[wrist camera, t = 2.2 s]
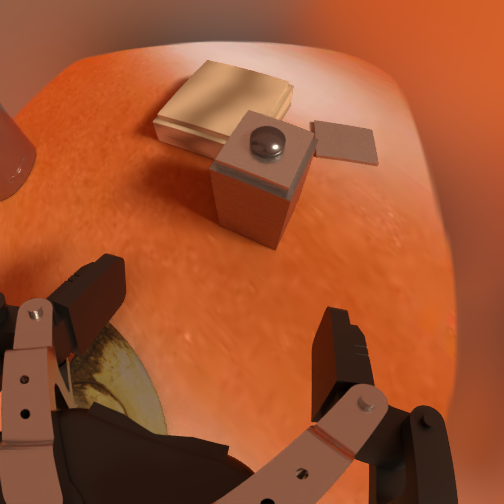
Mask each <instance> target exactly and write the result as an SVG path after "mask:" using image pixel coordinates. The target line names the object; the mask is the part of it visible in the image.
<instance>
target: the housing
mask: <svg viewBox="0 0 504 504" xmlns="http://www.w3.org/2000/svg"><path fill="white" fill-rule="evenodd" d="M314 134H315V133H312V132H310V131H307V130H305V129H302V128H300V127H297V126H294V125H292V124H289V123H286V122H283V121H281V120H278V119H275V118H272V117H269V116H266V115H263V114H260V113H257V112H254V111H251V110H248V112H247V113H246V114H245V115H244V117H243V118H242V120H241V121H240V123H239V124H238V125H237V127H236V128H235V130H234V131H233V133H232V134H231V136H230V137H229V139H228V140H227V142H226V143H225V145H224V146H223V148H222V149H221V151H220V152H219V154H218V155H217V157H216V159H215V160H214V162H213V163H212V165H211V166H210V168H209V172H210V178H211V183H212V189H213V194H214V199H215V205H216V210H217V215H218V220H219V226H221V227H223V228H226V229H228V230H230V231H233V232H235V233H237V234H239V235H242V236H244V237H246V238H249V239H251V240H253V241H255V242H258V243H260V244H262V245H265V246H267V247H269V248H271V249H274V250H276V249H277V247H278V244H279V242H280V240H281V238H282V236H283V233H284V231H285V229H286V227H287V225H288V222H289V220H290V218H291V216H292V213H293V211H294V209H295V207H296V204H297V202H298V200H299V197H300V194H301V191H302V188H303V185H304V182H305V179H306V176H307V173H308V170H309V167H310V164H311V161H312V158H313V155H314V152H315V149H316V146H317V143H318V140H319V139H317V138H314Z"/></svg>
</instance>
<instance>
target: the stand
mask: <svg viewBox="0 0 504 504" xmlns="http://www.w3.org/2000/svg"><path fill="white" fill-rule="evenodd" d="M293 88H294V86H292V85H289V82H288V81H285V80H282V79H279V78H275V77H272V76H269V75H265V74H262V73H258V72H255V71H251V70H247V69H243V68H239V67H235V66H231V65H227V64H223V63H218V62H213V61H209V60H207V61H206V62H205V63H204V64H203V65H202V66H201V67H200V68H199V69H198V70H197V71H196V72H195V73H194V74H193V75H192V76H191V77H190V78H189V79H188V80H187V81H186V83H185V84H184V85H183V86H182V87H181V88H180V89H179V90H178V91H177V92H176V93H175V94H174V96H173V97H172V98H171V99H170V100H169V101H168V102H167V103H166V105H165V106H164V107H163V108H162V109H161V110H160V112H159V113H158V114H157V117H156V118H155V119H154V120H153V125H154V128H155V131H156V134H157V136H158V139H159V141H161V142H164V143H167V144H170V145H174V146H176V147H179V148H182V149H185V150H188V151H191V152H194V153H197V154H200V155H203V156H205V157H208V158H211V159H214V160H215V159H216V157H217V155H218V154H219V152H220V151H221V149H222V148H223V146H224V145H225V143H226V142H227V140H228V139H229V137H230V136H231V134H232V133H233V131H234V130H235V128H236V127H237V125H238V124H239V123H240V121H241V120H242V118H243V117H244V115H245V114H246V113H247V112H248V110H251V111H254V112H257V113H260V114H263V115H266V116H269V117H272V118H275V119H278V120H281V121H282V119H283V117H284V116H285V114H286V112H287V111H288V109H289V107H290V105H291V100H292V94H293Z"/></svg>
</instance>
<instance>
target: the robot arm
mask: <svg viewBox="0 0 504 504" xmlns="http://www.w3.org/2000/svg"><path fill="white" fill-rule="evenodd" d="M35 156H36V151H35V147H34V145H33V144H32V143H31V142H30V140H29V139H28V138H27V137H26V136H25V134H24V133H23V132H22V131H21V129H20V128H19V127H18V125H17V124H16V123H15V122H14V120H13V119H12V118H11V117H10V116H9V114H8V113H7V111H6V110H5V109H4V108H3V106H2V105H1V104H0V200H4V199H6V198H8V197H10V196H11V195H12V194H14V193H15V192H16V191H17V190H18V189H19V188H20V187H21V185H22V184H23V183H24V181H25V180H26V179H27V177H28V175H29V173H30V172H31V169H32V167H33V164H34V161H35ZM125 295H126V282H125V264H124V259H123V258H121V257H118V256H114V255H110V254H104V255H102V256H101V257H100V258H99V259H98V260H97V261H96V262H92V263H89V264H87V265H85V266H83V267H81V268H80V269H79V270H78V271H76V272H75V273H74V275H72V276H71V277H70V278H69V279H68V281H65V282H64V283H63V284H62V285H61V286H60V287H59V288H58V289H56V290H55V291H54V292H53V293H52V294H51V295H50V296H49V297H48V298H47V299H43V298H34V299H30V300H28V301H26V302H25V303H23V304H22V305H21V306H20V307H17V306H10V305H7V303H6V300H5V297H4V295H3V294H2V293H0V392H1V390H2V408H1V415H2V431H1V432H0V504H315V503H316V502H317V501H318V500H319V499H320V498H321V497H322V496H323V495H324V494H325V493H326V492H327V491H328V490H329V489H330V488H331V486H332V485H333V484H334V483H335V482H336V481H337V480H338V479H339V477H340V476H341V475H342V474H343V473H344V472H345V470H346V469H347V468H348V467H349V466H350V464H351V463H352V462H353V460H354V459H356V460H359V461H362V462H365V463H368V464H369V504H458V498H457V490H456V483H455V475H454V469H453V462H452V456H451V452H450V446H449V441H448V436H447V431H446V427H445V422H444V419H443V417H442V416H441V414H440V413H439V412H438V411H437V410H435V409H434V408H432V407H430V406H425V405H422V406H418V407H416V408H414V410H413V411H412V412H411V413H408V412H405V411H403V410H400V409H397V408H394V407H392V406H390V405H388V401H387V399H386V397H385V395H384V394H383V393H382V392H381V391H380V390H379V389H378V388H376V387H375V385H374V380H373V374H372V369H371V364H370V359H369V356H368V350H367V348H366V346H367V345H366V341H365V336H364V334H363V333H362V332H361V330H360V329H359V327H358V326H356V325H351V324H350V320H349V315H348V311H347V310H343V309H338V308H333V307H327V308H326V310H325V313H324V315H323V318H322V320H321V323H320V325H319V328H318V330H317V333H316V335H315V338H314V341H313V345H312V415H311V422H318V423H317V424H316V425H314V426H310V427H309V428H308V429H306V430H305V431H304V432H303V433H302V434H301V435H300V436H299V437H298V438H297V439H295V440H294V441H293V442H292V443H291V444H290V445H289V446H288V447H286V448H285V449H284V450H283V451H282V452H281V453H279V454H278V455H277V456H276V457H275V458H273V459H272V460H271V461H270V462H269V463H267V464H266V465H265V466H264V467H262V468H261V469H260V470H259V471H257V472H256V473H254V472H253V471H252V470H251V469H250V468H249V467H248V466H246V465H245V464H244V463H242V462H241V461H239V460H237V459H236V458H234V457H232V456H230V455H227V454H228V450H229V446H227V445H222V444H218V443H214V442H210V441H206V440H202V439H198V438H195V437H183V436H171V435H161V434H155V433H152V432H150V431H149V430H147V429H146V428H144V427H143V426H141V425H139V424H138V423H136V422H135V421H133V420H132V419H130V418H129V417H128V416H126V415H125V414H123V413H120V412H118V411H116V410H113V409H111V408H108V407H106V406H104V405H102V404H99V403H97V402H95V401H94V402H93V404H92V405H91V407H90V409H85V408H76V406H75V403H74V398H73V392H72V384H71V376H70V366H69V359H68V356H69V354H70V353H71V352H72V353H74V354H76V355H78V356H81V357H82V355H83V354H84V353H85V351H86V350H87V349H88V347H89V346H90V345H91V343H92V342H93V341H94V339H95V338H96V337H97V336H98V334H99V333H100V332H101V330H102V329H103V328H104V326H105V325H106V324H107V323H108V321H109V320H110V319H111V318H112V316H113V315H114V314H115V312H116V311H117V310H118V309H119V307H120V306H121V305H122V303H123V301H124V299H125Z"/></svg>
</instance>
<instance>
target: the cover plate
mask: <svg viewBox="0 0 504 504" xmlns="http://www.w3.org/2000/svg"><path fill="white" fill-rule="evenodd" d="M314 133H315V134H314V136H315V138H317V139H319V140H318V143H317V146H316V149H315V153H316V157H317V158H325V159H333V160H340V161H347V162H354V163H360V164H366V165H372V166H378V164H379V163H378V158H377V152H376V147H375V142H374V137H373V132H372V130H370V129H365V128H360V127H354V126H348V125H342V124H336V123H329V122H322V121H315V120H314Z"/></svg>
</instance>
